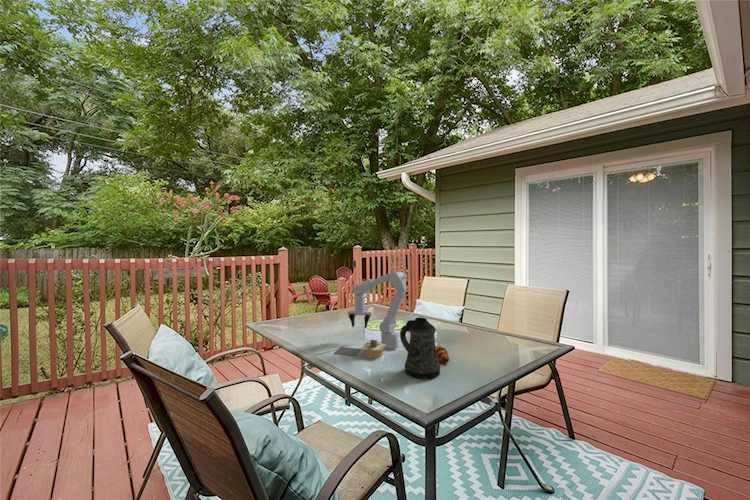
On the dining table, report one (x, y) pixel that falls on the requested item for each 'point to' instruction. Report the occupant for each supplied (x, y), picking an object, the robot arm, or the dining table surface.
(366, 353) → the bowl
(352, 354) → the mat
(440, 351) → the croissant
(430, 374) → the beer stein
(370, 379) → the dining table surface
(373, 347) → the lid
